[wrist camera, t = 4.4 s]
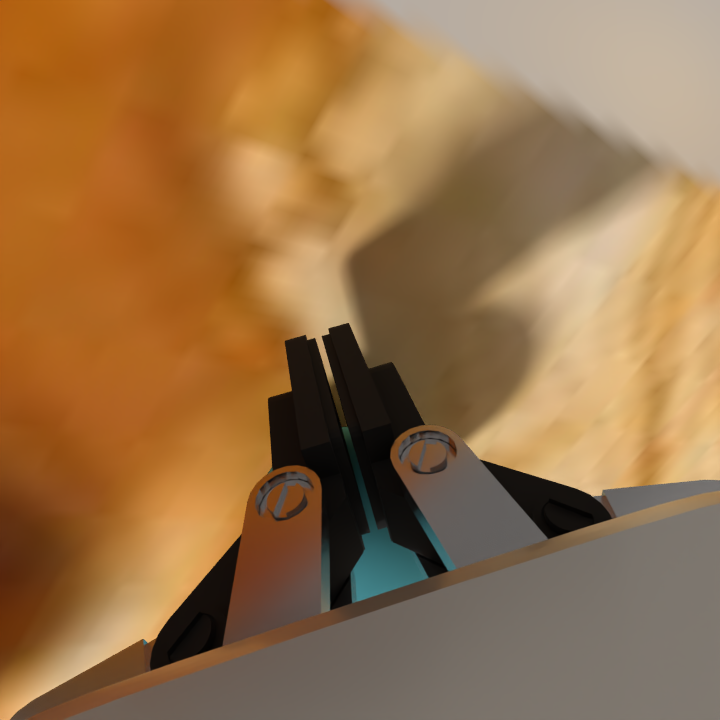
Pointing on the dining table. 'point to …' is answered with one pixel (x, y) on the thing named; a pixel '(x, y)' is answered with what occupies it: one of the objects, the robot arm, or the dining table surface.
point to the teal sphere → (378, 549)
